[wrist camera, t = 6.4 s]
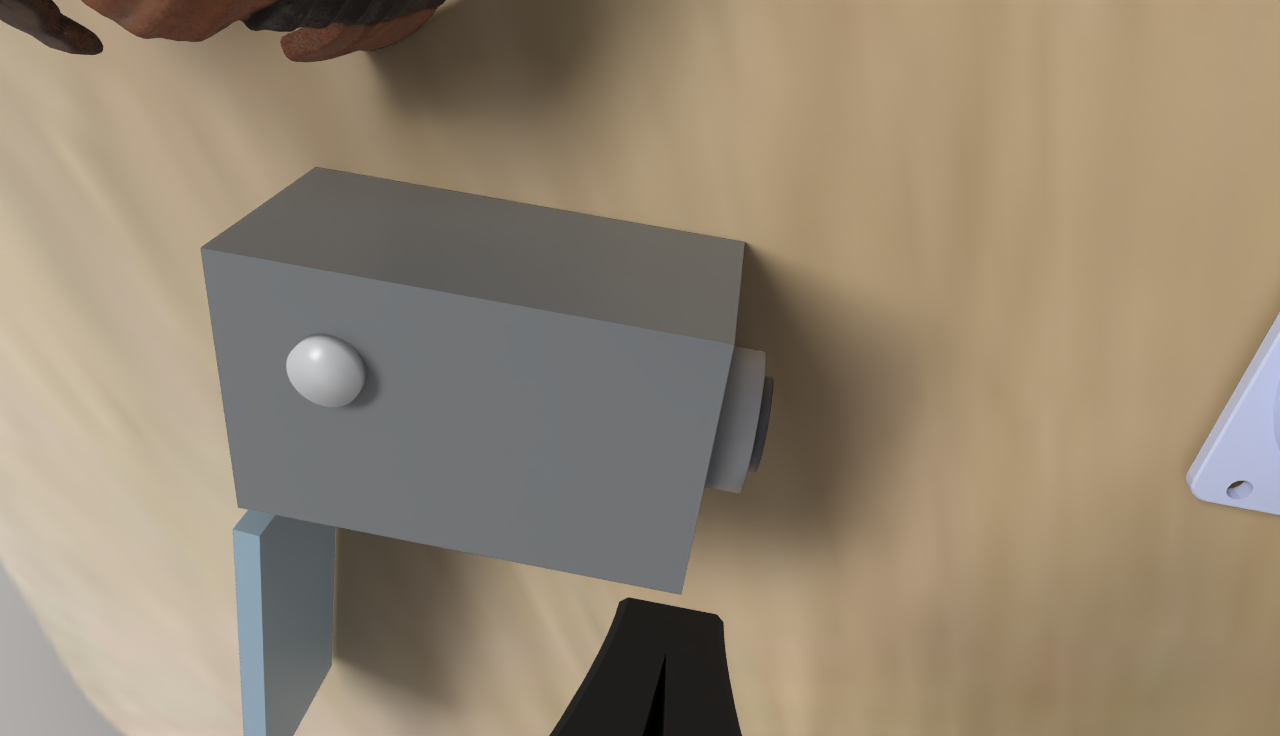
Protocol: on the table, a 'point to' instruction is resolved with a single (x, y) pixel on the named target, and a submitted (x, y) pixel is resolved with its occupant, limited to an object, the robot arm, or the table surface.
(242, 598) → the door
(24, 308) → the table surface
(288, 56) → the pottery mug
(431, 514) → the camera body
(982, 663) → the table surface
